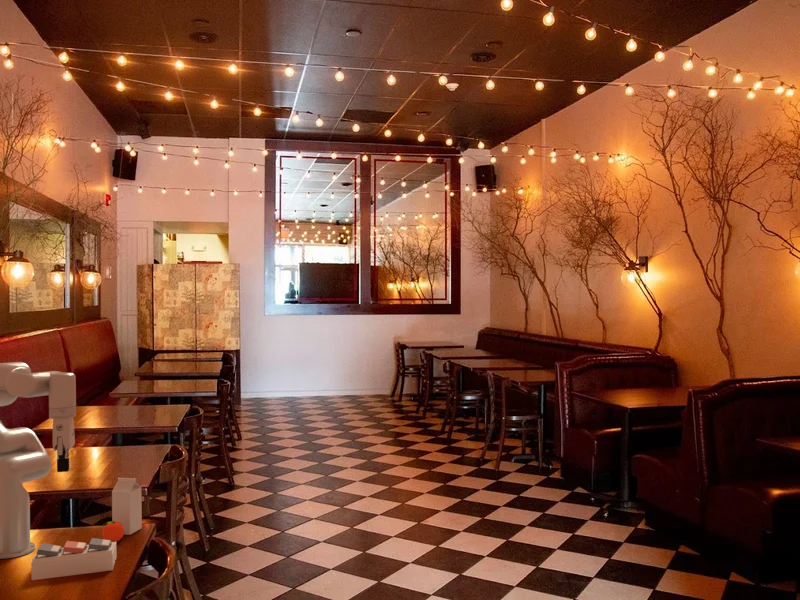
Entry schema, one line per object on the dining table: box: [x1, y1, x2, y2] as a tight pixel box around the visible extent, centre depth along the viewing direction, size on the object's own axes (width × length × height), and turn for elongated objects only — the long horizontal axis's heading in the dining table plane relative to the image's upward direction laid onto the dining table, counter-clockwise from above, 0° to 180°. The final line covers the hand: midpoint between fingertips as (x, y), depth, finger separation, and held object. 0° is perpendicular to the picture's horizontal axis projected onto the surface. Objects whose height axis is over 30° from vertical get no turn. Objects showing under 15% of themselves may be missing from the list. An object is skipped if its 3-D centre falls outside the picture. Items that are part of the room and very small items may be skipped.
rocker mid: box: [62, 540, 87, 553], centre depth 201 cm, size 6×6×2 cm
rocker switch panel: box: [30, 542, 117, 581], centre depth 202 cm, size 22×11×6 cm, turn 108°
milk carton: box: [111, 477, 143, 536], centre depth 236 cm, size 7×7×19 cm
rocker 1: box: [36, 542, 62, 556], centre depth 199 cm, size 6×6×2 cm
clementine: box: [101, 520, 125, 543], centre depth 225 cm, size 8×7×7 cm
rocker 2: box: [88, 537, 111, 550], centre depth 203 cm, size 6×6×2 cm
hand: (63, 471), depth 206 cm, fingers closed
